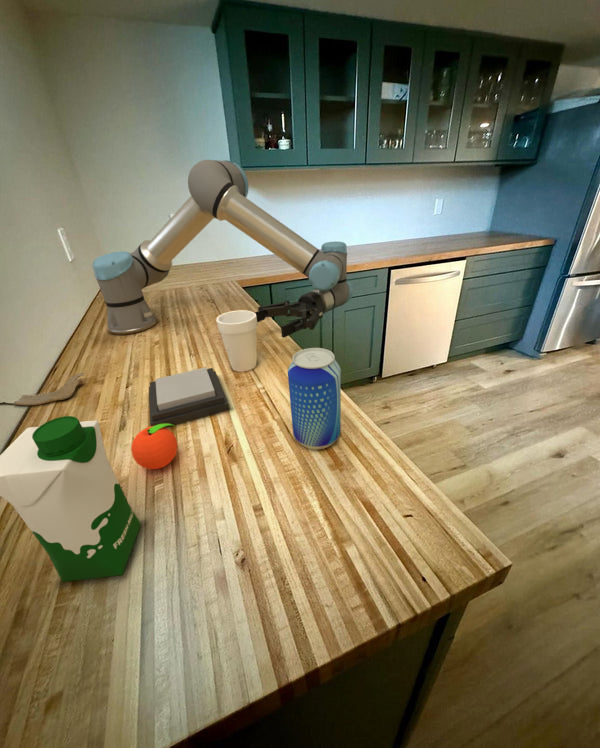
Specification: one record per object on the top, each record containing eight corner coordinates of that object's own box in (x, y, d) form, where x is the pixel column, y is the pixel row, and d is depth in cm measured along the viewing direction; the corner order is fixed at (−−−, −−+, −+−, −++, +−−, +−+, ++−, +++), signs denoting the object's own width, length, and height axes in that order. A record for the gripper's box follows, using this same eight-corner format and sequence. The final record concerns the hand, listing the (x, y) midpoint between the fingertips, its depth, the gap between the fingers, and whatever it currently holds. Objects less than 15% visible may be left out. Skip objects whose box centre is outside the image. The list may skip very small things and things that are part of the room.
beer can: (345, 425, 62) (345, 347, 54) (334, 457, 55) (333, 373, 47) (302, 418, 65) (296, 343, 57) (286, 447, 58) (278, 366, 50)
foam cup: (255, 375, 80) (248, 324, 74) (219, 373, 82) (209, 324, 76) (266, 357, 88) (261, 310, 82) (233, 356, 90) (225, 309, 84)
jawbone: (88, 396, 78) (84, 389, 76) (-22, 428, 70) (-28, 420, 69) (87, 377, 84) (84, 370, 83) (-13, 404, 77) (-18, 397, 75)
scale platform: (157, 385, 74) (155, 378, 73) (207, 373, 78) (205, 367, 77) (159, 412, 65) (157, 404, 64) (216, 397, 69) (214, 390, 68)
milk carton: (127, 582, 40) (56, 456, 30) (49, 591, 39) (-51, 467, 29) (150, 517, 47) (99, 400, 37) (84, 525, 47) (15, 408, 37)
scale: (150, 393, 76) (147, 381, 75) (216, 377, 81) (214, 366, 80) (152, 431, 64) (148, 418, 63) (229, 409, 69) (227, 397, 67)
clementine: (172, 440, 62) (162, 408, 58) (195, 455, 58) (185, 423, 54) (130, 466, 56) (116, 433, 53) (152, 485, 52) (138, 451, 49)
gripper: (350, 323, 94) (300, 351, 81) (285, 308, 109) (235, 330, 96) (350, 297, 91) (298, 322, 77) (283, 285, 105) (230, 304, 92)
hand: (263, 326), depth 86 cm, fingers open, 13 cm apart
